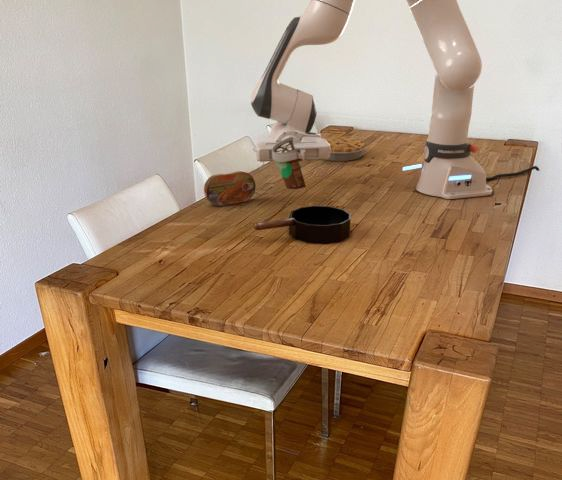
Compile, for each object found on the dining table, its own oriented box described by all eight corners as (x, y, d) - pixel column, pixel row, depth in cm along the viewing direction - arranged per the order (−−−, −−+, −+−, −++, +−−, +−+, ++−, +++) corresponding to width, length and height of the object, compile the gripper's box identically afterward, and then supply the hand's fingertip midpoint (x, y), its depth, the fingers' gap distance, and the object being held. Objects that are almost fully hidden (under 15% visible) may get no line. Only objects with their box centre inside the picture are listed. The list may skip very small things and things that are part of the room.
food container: (279, 179, 158) (268, 143, 152) (301, 172, 158) (291, 136, 152) (283, 196, 149) (271, 158, 143) (306, 188, 148) (295, 150, 142)
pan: (332, 219, 155) (333, 202, 152) (360, 238, 143) (361, 220, 141) (244, 232, 147) (243, 213, 144) (265, 253, 135) (265, 233, 133)
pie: (376, 152, 218) (377, 138, 215) (349, 165, 202) (350, 150, 199) (325, 145, 227) (325, 131, 225) (295, 156, 212) (296, 142, 209)
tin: (207, 208, 163) (205, 177, 158) (203, 205, 165) (201, 174, 160) (256, 200, 168) (255, 170, 164) (251, 197, 171) (251, 168, 166)
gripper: (252, 135, 160) (256, 147, 149) (325, 132, 162) (335, 144, 151) (252, 159, 164) (257, 172, 153) (324, 156, 166) (334, 169, 155)
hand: (296, 158), depth 152 cm, fingers closed on food container
